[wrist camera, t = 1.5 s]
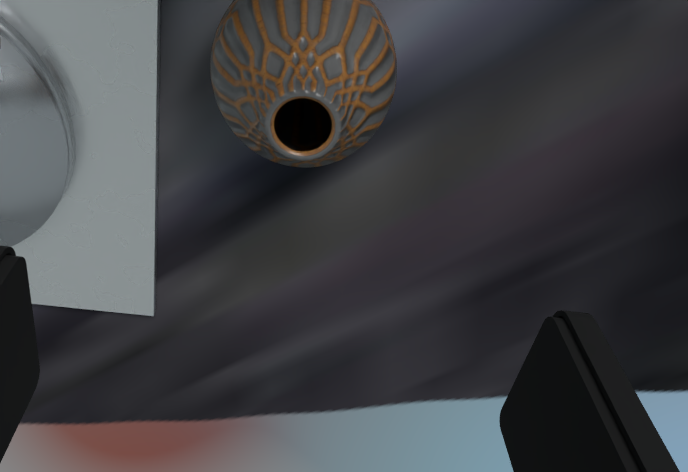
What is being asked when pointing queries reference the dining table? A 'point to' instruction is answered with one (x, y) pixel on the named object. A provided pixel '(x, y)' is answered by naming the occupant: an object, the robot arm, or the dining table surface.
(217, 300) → the dining table surface
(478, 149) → the dining table surface
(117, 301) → the flange plate
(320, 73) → the vase
